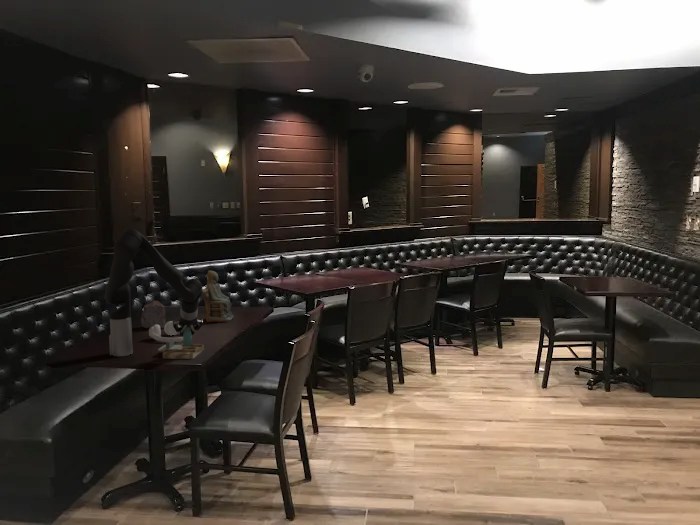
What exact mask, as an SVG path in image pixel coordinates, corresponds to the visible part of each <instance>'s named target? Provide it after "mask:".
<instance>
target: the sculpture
mask: <svg viewBox="0 0 700 525" xmlns="http://www.w3.org/2000/svg"><path fill="white" fill-rule="evenodd" d="M206 280H207V282H206V283H207V284H206V287H205V288H204V289H202V292H201V295H202V297H203V301H204V304H205V306H204V309H205V310H206V317H205V319H206V323H207V322H227V321H231V320H232V318H233V319H234V318H235V316H234V315H233V313H232V310H231V309H232V307H231V305H232V304H231V300H230V297H229V296H228V295H225V294H223V292H222V290H221V288H220V286H219V284H218V281H219V275H218V272H216V271H214V270H207V279H206ZM232 321H233V320H232ZM232 321H231V322H232ZM227 323H228V322H227Z"/></svg>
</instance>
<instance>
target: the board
mask: <svg viewBox="0 0 700 525" xmlns="http://www.w3.org/2000/svg"><path fill="white" fill-rule="evenodd" d="M174 345H182V347H181V348H180V349H165V351H163V353H162V359H168V360H169V359H170V360H171V359H172V360H173V359H175V360H177V359H178V360H179V359H180V360H186V359H187V360H188V359H190V360H192V359H193V360H194V358H196V357H197V356H198V355H200V354H201V353H202V352H203V351H204V350H205V345H204V344H202V343H192V345H191V346H183V343H174Z"/></svg>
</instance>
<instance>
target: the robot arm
mask: <svg viewBox="0 0 700 525" xmlns="http://www.w3.org/2000/svg"><path fill="white" fill-rule="evenodd" d="M140 250H142V251H143V253H145V254H146V256H148V259H149V260H150V262H151V264H152V266H153V269H154V272H155V273H156V274H157V276H159V278H160V279H162V280H163V281H165V282H166V283H167V284H168V285H169V286H171V288H172V289H173V290H174V291H175V293H176V294H177V296H178V297H179V298H180V299H181V306H180V311H179V319H178V321H175V320H172V321H173V327H174V329H175V330H176V332H178V333H179V335H180V336H181V337H183V331H184V330H185V328H187V327H191V333H192V337H193V336H194V335H195V332H196V331H199V330H200V329H201V327H202V326H203V325H204V321H203V320H204V319H203V318H200V319H198V313H199V307H198V306H199V300H200V298H201V295H202V292H203V284H202V282H201V281H200V280H199V279H197V278H190V279H188V280H187V281H186V282H185V284H184V283H183V279H184V273H183V272H182V271H181V270H179V269H178V268H177V267H176V266H174V265H173V264H172V263H170V262H169V260H167V259H166V258H165V256H163V255H162V254H161V253H160V252H159V251H158V249H157V248H156V247H155V246H154V245H153V244H152V243H151V242H150V241H149V240H148V239H147V238H146V237H145V236H144V235H143V234H142V233H141V232H140V231H138V230H137V229H135V228H127V229H125V230H124V232H122V234H121V235H119V237H118V238H117V239H116V240H115V242H114V245H113V260H112V264H111V267H110V273H109V278H108V281H107V283H106V286H105V290H104V299H105V302H106V303H107V304H109V305H117V304H118V305H119V304H121V306H120V307H118V308H116V309H115V310H112V311H111V312H109V327H110V334H109V335H108V341H109V343H108V344H109V356H111V355H113V357H126V356H130V354H131V355H132V354H133V353H134V347H133V330H132V329H133V328H132V327H133V326H132V312H131V311H132V310H131V309H132V307H131V306H132V303H131V302H132V301H131V298H132V297H131V286H130V285H129V282H130V281H131V280H132V278H133V275H134V270H135V265H134V263H133V261H132V260H133V259H134V257H135V255H137V253H138V252H139V251H140ZM178 325H179V326H180V327H178Z"/></svg>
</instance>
